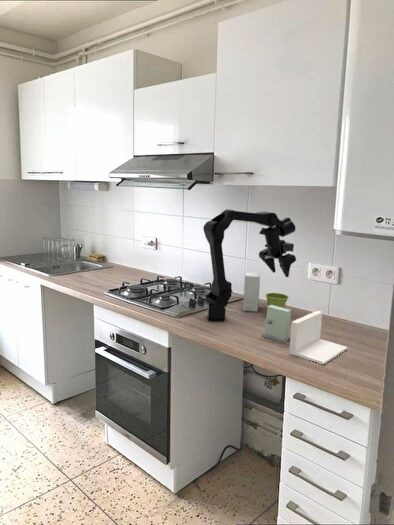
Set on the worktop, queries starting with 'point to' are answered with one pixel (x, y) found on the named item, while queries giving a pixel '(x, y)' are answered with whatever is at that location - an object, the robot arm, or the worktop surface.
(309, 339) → the white l-shaped stand
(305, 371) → the worktop surface
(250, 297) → the skincare box
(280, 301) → the plant pot
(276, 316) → the door
